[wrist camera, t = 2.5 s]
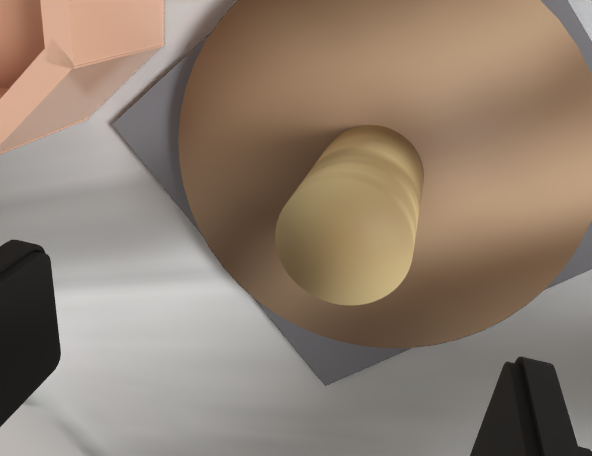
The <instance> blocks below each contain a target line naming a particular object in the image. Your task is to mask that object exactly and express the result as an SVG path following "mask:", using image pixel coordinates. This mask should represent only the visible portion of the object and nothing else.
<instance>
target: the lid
mask: <svg viewBox="0 0 592 456" xmlns="http://www.w3.org/2000/svg"><path fill="white" fill-rule="evenodd" d="M178 143H179V163H180V168H181V174H182V180H183V186H184V189H185V193H186V196H187V199H188V203H189V206H190V209H191V211H192V214H193V216H194V218H195V221H196V223H197V225H198V228H199V230H200V232H201V233H202V235H203V237H204V239H205V240H206V242H207V244H208V246H209V247H210V249H211V251H212V252H213V253H214V255H215V256H216V257H217V259H218V260H219V262H220V263H221V264H222V266H223V267H224V268H225V270H226V271H227V272H228V273H229V274H230V275H231V276H232V277H233V278H234V279H235V280H236V282H237V283H238V284H239V285H240V286H241V287H242V288H244V289H245V290H246V291H247V292H248V293H249V294H250V295H251V296H253V297H254V298H255V299H256V300H257V301H259V302H260V303H261V304H263V305H264V306H266V307H267V308H268V309H270V310H271V311H273V312H274V313H275V314H277V315H279V316H281V317H282V318H284V319H286V320H288V321H290V322H291V323H293V324H295V325H297V326H299V327H301V328H304V329H306V330H308V331H311V332H313V333H315V334H318V335H321V336H324V337H327V338H330V339H334V340H337V341H340V342H345V343H350V344H355V345H360V346H368V347H378V348H414V347H422V346H431V345H437V344H441V343H445V342H449V341H454V340H458V339H461V338H463V337H466V336H469V335H472V334H475V333H477V332H480V331H483V330H485V329H487V328H489V327H491V326H493V325H495V324H497V323H499V322H501V321H503V320H505V319H506V318H508V317H509V316H511V315H512V314H514V313H515V312H517V311H518V310H520V309H521V308H523V307H524V306H526V305H527V304H528V303H529V302H531V301H532V300H533V299H534V298H535V297H536V296H538V295H539V294H540V293H541V292H542V291H543V290H544V289H546V288H547V286H548V285H549V284H550V283H551V282H552V281H553V280H554V279H555V278H556V276H557V275H558V274H559V273H560V272H561V271H562V270H563V269H564V267H565V266H566V264H567V263H568V261H569V260H570V258H571V257H572V255H573V254H574V253H575V251H576V250H577V248H578V247H579V245H580V243H581V241H582V239H583V237H584V235H585V233H586V231H587V229H588V227H589V225H590V223H591V220H592V75H591V73H590V70H589V68H588V66H587V64H586V62H585V60H584V58H583V56H582V54H581V52H580V50H579V48H578V46H577V45H576V43H575V42H574V40H573V39H572V37H571V36H570V35H569V33H568V32H567V30H566V29H565V28H564V26H563V25H562V23H561V22H560V20H559V19H558V18H557V17H556V16H555V15H554V14H553V13H552V12H551V11H550V10H549V9H548V8H547V7H546V6H545V5H544V4H543V3H542V2H541V0H238V1H237V2H236V3H235V4H234V5H233V7H232V8H231V9H230V10H229V11H228V12H227V13H226V14H225V15H224V16H223V17H222V18H221V20H220V21H219V23H218V24H217V26H216V27H215V28H214V30H213V31H212V33H211V34H210V36H209V37H208V38H207V40H206V42H205V44H204V46H203V48H202V50H201V51H200V53H199V55H198V57H197V59H196V61H195V63H194V66H193V68H192V71H191V74H190V77H189V80H188V83H187V85H186V88H185V93H184V98H183V102H182V107H181V112H180V122H179V135H178Z"/></svg>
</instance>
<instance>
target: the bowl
mask: <svg viewBox="0 0 592 456" xmlns="http://www.w3.org/2000/svg"><path fill="white" fill-rule="evenodd" d="M164 44H165V43H164V0H0V154H2V153H4V152H7V151H9V150H12V149H14V148H17V147H19V146H22V145H25V144H27V143H30V142H32V141H35V140H37V139H40V138H42V137H45V136H47V135H50V134H52V133H55V132H57V131H60V130H62V129H65V128H67V127H70V126H72V125H75V124H77V123H80V122H82V121H85V120H87V119H89V117H90V116H91V115H92V114H93V113H94V112H95V111H96V110H97V109H98V108H99V107H100V106H101V105H102V104H103V103H104V102H105V101H106V100H107V99H108V98H109V97H111V96H112V95H113V94H114V93H115V92H116V91H117V90H118V89H119V88H120V87H121V86H122V85H123V84H124V83H125V82H126V81H127V80H128V79H129V78H130V77H131V76H132V75H133V74H134V73H135V72H136V71H137V70H138V69H139V68H140V67H142V66H143V65H144V64H145V63H146V62H147V61H148V60H149V59H150V58H151V57H152V56H153V55H154V54H155V53H156V52H157V51H158V50H159V49H160V48H161V47H163V46H164Z"/></svg>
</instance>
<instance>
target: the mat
mask: <svg viewBox="0 0 592 456" xmlns="http://www.w3.org/2000/svg"><path fill="white" fill-rule="evenodd" d="M541 2H542V3H543V4H544V5H545V6H546V7H547V8H548V9H549V10H550V11H551V12H552V13H553V14H554V15H555V16H556V17H557V18H558V19H559V20H560V22H561V23H562V25H563V26H564V28H565V29H566V30H567V32H568V33H569V35H570V36H571V37H572V39H573V40H574V42H575V43H576V45H577V46H578V48H579V50H580V52H581V54H582V56H583V58H584V60H585V62H586V64H587V66H588V68H589V70H590V73H591V75H592V41H591V40H590V38H589V36H588V34H587V33H586V31H585V29H584V28H583V26H582V24H581V22H580V21H579V19H578V17H577V16H576V14H575V12H574V11H573V9H572V7H571V5H570V4H569V2H568V0H541ZM211 33H212V32H211ZM211 33H210V34H211ZM210 34H209V35H208V36H207V37H206V38H205V39H204V40H203V41H201V42H200V43H199V44H198V45H197V46H196V47H195V48H194V49H193V50H192V51H191V52H190V53H189V54H187V55H186V56H185V57H184V58H183V59H182V60H181V61H180V62H179V63H178V64H177V65H176V66H174V67H173V68H172V69H171V70H170V71H169V72H168V73H167V74H166V75H165V76H164V77H163V78H162V79H160V80H159V81H158V82H157V83H156V84H155V85H154V86H153V87H152V88H151V89H150V90H149V91H148V92H146V93H145V94H144V95H143V96H142V97H141V98H140V99H139V100H138V101H137V102H136V103H135V104H134V105H132V106H131V107H130V108H129V109H128V110H127V111H126V112H125V113H124V114H123V115H122V116H121V117H119V118H118V119H117V120H116V121H115V122H114V123H113V124H112V125H113V127H114V128H115V129H116V130H117V131H118V133H119V134H120V135H121V136H122V138H123V139H124V140H125V141H126V142H127V144H128V145H129V146H130V147H131V149H132V150H133V151H134V152H135V154H136V155H137V156H138V157H139V158H140V160H141V161H142V162H143V163H144V165H145V166H146V167H147V168H148V169H149V171H150V172H151V173H152V174H153V176H154V177H155V178H156V179H157V180H158V182H159V183H160V184H161V185H162V187H163V188H164V189H165V190H166V191H167V193H168V194H169V195H170V196H171V198H172V199H173V200H174V201H175V202H176V204H177V205H178V206H179V207H180V209H181V210H182V211H183V212H184V213H185V215H186V216H187V217H188V218H189V220H190V221H191V222H192V223H193V225H194V226H195V227H196V228H197V229H198V231H199V232H200V230H199V228H198V225H197V223H196V221H195V218H194V216H193V214H192V211H191V209H190V206H189V203H188V199H187V196H186V193H185V189H184V186H183V180H182V174H181V168H180V163H179V143H178V135H179V122H180V112H181V107H182V102H183V98H184V93H185V88H186V85H187V83H188V80H189V77H190V74H191V71H192V68H193V66H194V63H195V61H196V59H197V57H198V55H199V53H200V51H201V50H202V48H203V46H204V44H205V42H206V40H207V38H208V37H209V36H210ZM200 233H201V232H200ZM201 234H202V233H201ZM202 236H203V235H202ZM591 269H592V220H591V223H590V225H589V227H588V229H587V231H586V233H585V235H584V237H583V239H582V241H581V243H580V245H579V247H578V248H577V250H576V251H575V253H574V254H573V255H572V257H571V258H570V260H569V261H568V263H567V264H566V266H565V267H564V269H563V270H562V271H561V272H560V273H559V274H558V275H557V276H556V278H555V279H554V280H553V281H552V282H551V283H550V284H549V285H548V286H547V288H550V287H552V286H554V285H556V284H559V283H561V282H563V281H566V280H568V279H570V278H572V277H575V276H577V275H579V274H582V273H584V272H586V271H588V270H591ZM547 288H546V289H547ZM544 290H545V289H544ZM252 297H253V296H252ZM253 298H254V297H253ZM254 299H255V298H254ZM255 300H256V299H255ZM256 302H257V303H258V304H259V305H260V307H261V308H262V309H263V310H264V311H265V313H266V314H267V315H268V316H269V318H270V319H271V320H272V321H273V322H274V324H275V325H276V326H277V327H278V329H279V330H280V331H281V332H282V333H283V335H284V336H285V337H286V338H287V340H288V341H289V342H290V343H291V344H292V346H293V347H294V348H295V349H296V351H297V352H298V353H299V354H300V356H301V357H302V358H303V359H304V360H305V362H306V363H307V364H308V365H309V367H310V368H311V369H312V370H313V371H314V373H315V374H316V375H317V376H318V378H319V379H320V380H321V381H322V382H323V384H324V385H325V386H326V385H329V384H331V383H333V382H335V381H338V380H340V379H342V378H345V377H347V376H349V375H351V374H354V373H356V372H358V371H361V370H363V369H365V368H367V367H370V366H372V365H374V364H376V363H379V362H381V361H383V360H386V359H388V358H390V357H392V356H395V355H397V354H399V353H402V352H404V351H406V350H408V349H411V348H378V347H368V346H360V345H355V344H350V343H345V342H340V341H337V340H334V339H330V338H327V337H324V336H321V335H318V334H315V333H313V332H311V331H308V330H306V329H304V328H301V327H299V326H297V325H295V324H293V323H291V322H290V321H288V320H286V319H284V318H282V317H281V316H279V315H277V314H275V313H274V312H273V311H271V310H270V309H268V308H267V307H266V306H264V305H263V304H261V303H260V302H259V301H257V300H256Z"/></svg>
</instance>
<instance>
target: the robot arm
mask: <svg viewBox="0 0 592 456" xmlns="http://www.w3.org/2000/svg"><path fill="white" fill-rule="evenodd" d="M60 356H61V351H60V342H59V333H58V324H57V315H56V306H55V297H54V287H53V278H52V269H51V261H50V257H49V256H48V255H47V254H45V251H44V249H43V248H42V247H41V246H39V245H36V244H32V243H28V242H23V241H19V240H11V241H8V242H7V243H5V244H3V245H2V246H0V427H1V426H2V425H3V424H4V422H5V421H6V420H7V419H8V418H9V417H10V416H11V415H12V414H13V413H14V412H15V411H16V410H17V409H18V408H19V407H20V406H21V405H22V404H23V403H24V402H25V400H26V399H27V398H28V397H29V396H30V395H31V394H32V393H33V392H34V391H35V390H36V389H37V388H38V387H39V386H40V385H41V384H42V383H43V382H44V381H45V380H46V379H47V377H48V376H49V375H50V374H51V373H52V372H53V371H54V370H55V369H56V367H57V365H58V363H59V361H60ZM470 456H592V451H591V450H590V449H586V448H582V447H578V445H577V442H576V438H575V435H574V432H573V428H572V425H571V421H570V418H569V415H568V411H567V408H566V405H565V401H564V398H563V394H562V391H561V388H560V384H559V381H558V378H557V374H556V371H555V368H554V366H553V365H552V364H550V363H546V362H542V361H537V360H533V359H529V358H524V357H518V359H517V360H516V362H515V363H511V362H506V363H505V364H504V366H503V368H502V371H501V374H500V376H499V379H498V382H497V385H496V387H495V390H494V393H493V395H492V398H491V401H490V403H489V406H488V409H487V411H486V414H485V417H484V420H483V422H482V425H481V428H480V430H479V433H478V436H477V438H476V441H475V444H474V446H473V449H472V452H471V455H470Z"/></svg>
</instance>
